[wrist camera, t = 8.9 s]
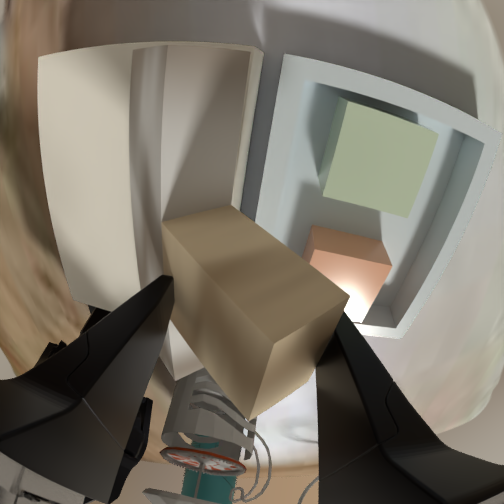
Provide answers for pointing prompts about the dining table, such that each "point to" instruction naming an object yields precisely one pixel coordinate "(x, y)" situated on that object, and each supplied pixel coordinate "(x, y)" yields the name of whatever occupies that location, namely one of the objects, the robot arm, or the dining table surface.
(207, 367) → the scraper
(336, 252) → the terracotta tile
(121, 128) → the cream riser block
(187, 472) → the beverage bottle
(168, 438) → the french press
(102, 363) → the robot arm
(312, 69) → the box
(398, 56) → the dining table surface
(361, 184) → the sage tile
